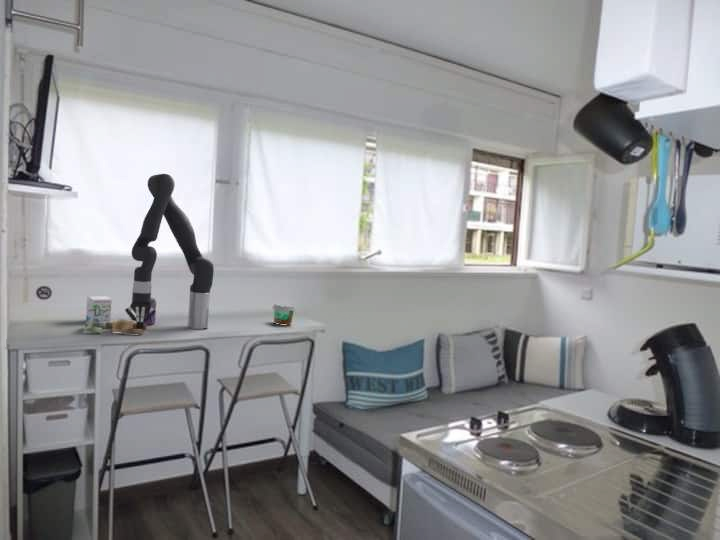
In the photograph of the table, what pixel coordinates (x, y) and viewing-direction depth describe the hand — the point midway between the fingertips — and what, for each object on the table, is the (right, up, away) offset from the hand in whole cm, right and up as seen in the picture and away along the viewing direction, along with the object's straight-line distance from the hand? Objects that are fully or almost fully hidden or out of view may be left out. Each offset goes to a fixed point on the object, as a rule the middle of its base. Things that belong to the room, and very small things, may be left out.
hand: (139, 329), depth 231 cm
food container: (+55, -2, +45) cm, 71 cm away
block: (-7, -1, -1) cm, 7 cm away
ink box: (-24, +2, +11) cm, 26 cm away
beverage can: (-4, +1, +17) cm, 17 cm away
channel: (-9, 0, -2) cm, 10 cm away
